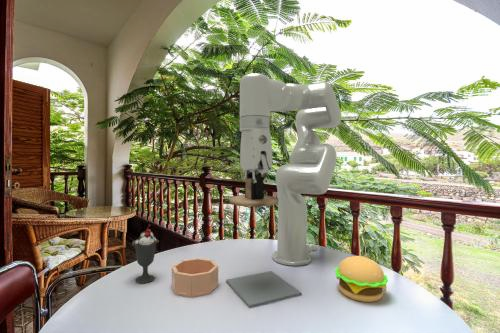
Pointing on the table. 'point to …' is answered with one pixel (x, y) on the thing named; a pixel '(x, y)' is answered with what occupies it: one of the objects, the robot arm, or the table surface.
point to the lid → (250, 202)
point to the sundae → (145, 254)
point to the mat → (262, 288)
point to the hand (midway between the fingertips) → (254, 197)
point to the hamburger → (361, 279)
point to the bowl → (194, 277)
